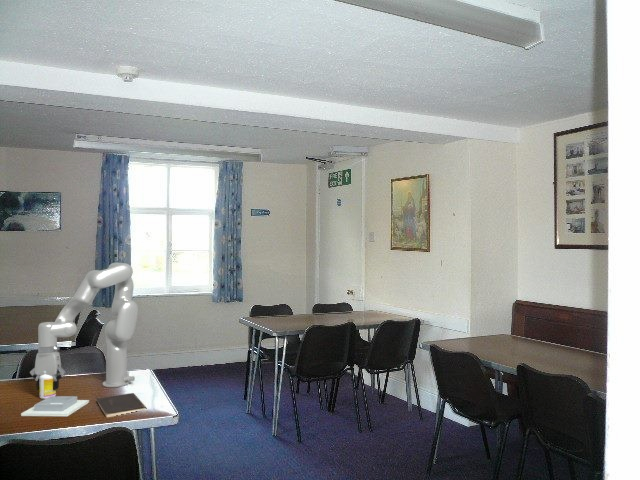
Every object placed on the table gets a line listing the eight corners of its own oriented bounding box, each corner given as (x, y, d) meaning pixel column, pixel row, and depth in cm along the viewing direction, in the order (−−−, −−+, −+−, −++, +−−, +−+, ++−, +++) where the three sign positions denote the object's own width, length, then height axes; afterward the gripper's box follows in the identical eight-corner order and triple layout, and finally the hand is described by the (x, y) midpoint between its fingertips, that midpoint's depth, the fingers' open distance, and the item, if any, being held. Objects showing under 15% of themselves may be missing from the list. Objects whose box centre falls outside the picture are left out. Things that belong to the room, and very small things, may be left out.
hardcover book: (105, 419, 204) (105, 413, 204) (96, 403, 224) (96, 398, 224) (146, 412, 213) (146, 406, 213) (134, 397, 232) (134, 392, 232)
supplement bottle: (59, 395, 234) (59, 367, 234) (47, 400, 228) (47, 371, 228) (48, 394, 236) (48, 366, 236) (35, 398, 230) (35, 369, 230)
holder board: (88, 402, 224) (88, 394, 224) (67, 416, 206) (67, 407, 206) (46, 401, 225) (46, 394, 225) (21, 415, 207) (21, 407, 207)
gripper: (70, 348, 235) (70, 387, 235) (33, 347, 236) (33, 386, 236) (62, 351, 228) (61, 391, 228) (23, 351, 228) (23, 391, 228)
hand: (47, 388), depth 232 cm, fingers closed on supplement bottle, 6 cm apart
